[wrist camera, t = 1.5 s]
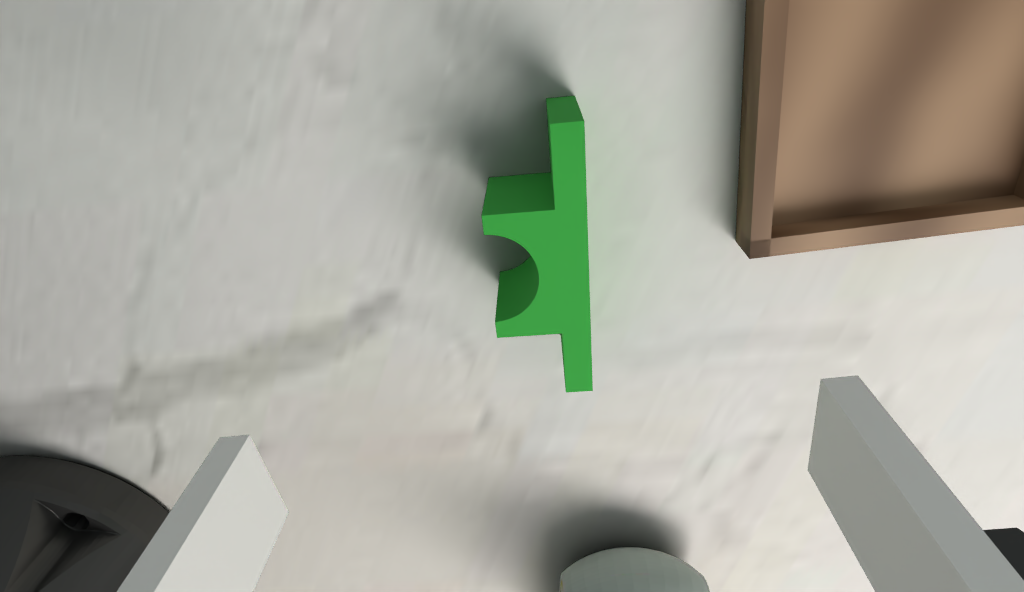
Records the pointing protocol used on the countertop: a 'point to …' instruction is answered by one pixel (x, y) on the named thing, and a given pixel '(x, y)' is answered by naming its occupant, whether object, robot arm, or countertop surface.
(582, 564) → the air freshener
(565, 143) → the pipe clamp
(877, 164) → the tray
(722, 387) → the countertop surface
